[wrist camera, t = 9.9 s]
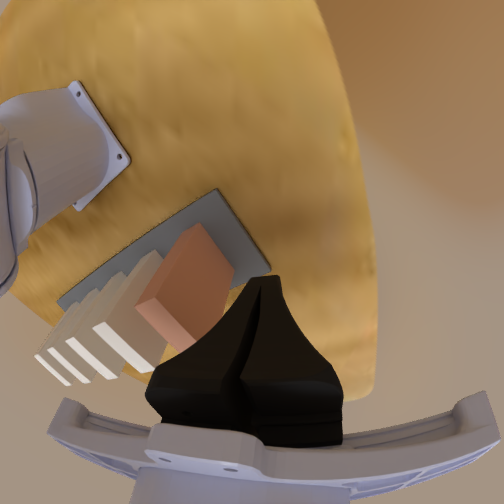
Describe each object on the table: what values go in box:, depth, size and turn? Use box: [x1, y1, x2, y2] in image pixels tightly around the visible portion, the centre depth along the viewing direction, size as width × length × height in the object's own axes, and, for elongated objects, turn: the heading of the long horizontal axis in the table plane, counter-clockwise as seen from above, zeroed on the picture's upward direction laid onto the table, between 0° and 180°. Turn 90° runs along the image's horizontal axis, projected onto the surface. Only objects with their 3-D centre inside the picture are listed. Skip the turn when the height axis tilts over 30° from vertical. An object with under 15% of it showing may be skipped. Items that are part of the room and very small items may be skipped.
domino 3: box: [65, 271, 127, 379], centre depth 22 cm, size 5×2×9 cm, turn 32°
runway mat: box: [57, 188, 271, 312], centre depth 26 cm, size 8×27×1 cm, turn 122°
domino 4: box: [92, 249, 168, 373], centre depth 20 cm, size 5×2×9 cm, turn 32°
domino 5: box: [134, 222, 235, 353], centre depth 19 cm, size 5×2×9 cm, turn 31°
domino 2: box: [47, 288, 100, 383], centre depth 24 cm, size 5×2×9 cm, turn 32°
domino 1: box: [34, 301, 79, 386], centre depth 26 cm, size 5×2×9 cm, turn 32°
